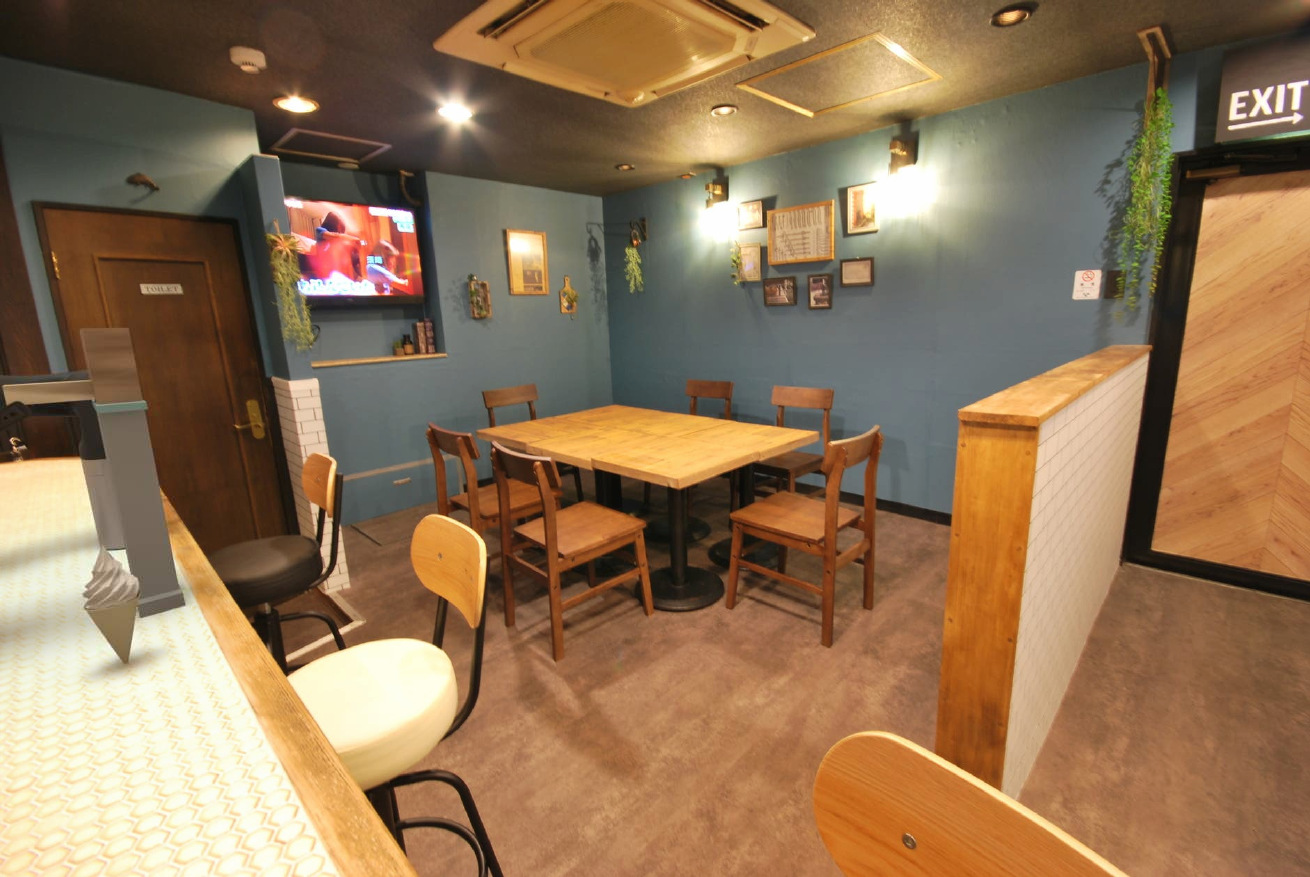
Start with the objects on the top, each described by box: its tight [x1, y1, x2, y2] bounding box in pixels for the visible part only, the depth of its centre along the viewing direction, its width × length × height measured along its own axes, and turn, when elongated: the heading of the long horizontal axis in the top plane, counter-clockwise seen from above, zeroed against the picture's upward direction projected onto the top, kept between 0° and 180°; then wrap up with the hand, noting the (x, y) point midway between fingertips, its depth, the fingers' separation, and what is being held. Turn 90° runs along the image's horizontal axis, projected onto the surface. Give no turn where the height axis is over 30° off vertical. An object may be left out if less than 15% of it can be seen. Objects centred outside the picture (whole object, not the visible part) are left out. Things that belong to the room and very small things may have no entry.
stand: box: [92, 399, 186, 619], centre depth 85 cm, size 14×5×30 cm, turn 46°
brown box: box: [2, 327, 144, 405], centre depth 78 cm, size 10×13×10 cm
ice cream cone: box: [81, 545, 140, 664], centre depth 69 cm, size 5×5×15 cm
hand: (27, 403), depth 76 cm, fingers open, 8 cm apart
